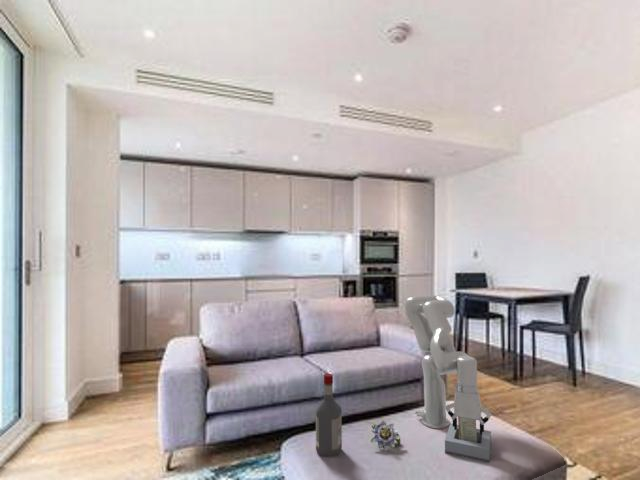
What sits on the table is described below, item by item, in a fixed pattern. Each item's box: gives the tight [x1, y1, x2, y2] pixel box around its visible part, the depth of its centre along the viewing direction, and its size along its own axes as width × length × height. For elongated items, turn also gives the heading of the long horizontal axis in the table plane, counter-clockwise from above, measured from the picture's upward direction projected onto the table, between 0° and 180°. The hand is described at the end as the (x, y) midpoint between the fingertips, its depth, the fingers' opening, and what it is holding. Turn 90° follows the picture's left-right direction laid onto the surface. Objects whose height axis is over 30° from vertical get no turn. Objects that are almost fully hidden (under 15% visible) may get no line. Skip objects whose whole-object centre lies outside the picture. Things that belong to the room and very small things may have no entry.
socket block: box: [444, 423, 492, 464], centre depth 155 cm, size 16×16×5 cm
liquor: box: [315, 373, 343, 458], centre depth 154 cm, size 9×9×30 cm
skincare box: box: [457, 416, 477, 443], centre depth 155 cm, size 6×4×12 cm
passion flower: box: [370, 419, 402, 452], centre depth 158 cm, size 11×11×12 cm
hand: (468, 430), depth 155 cm, fingers open, 9 cm apart
